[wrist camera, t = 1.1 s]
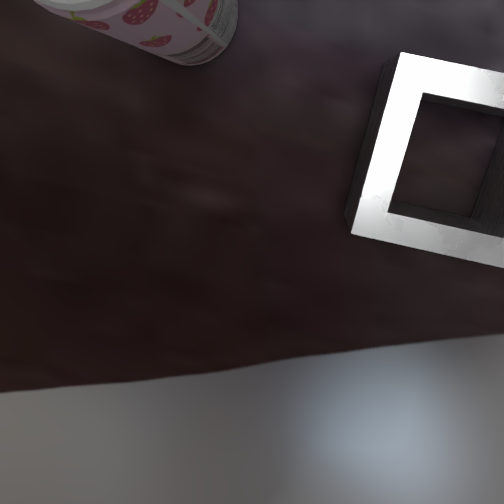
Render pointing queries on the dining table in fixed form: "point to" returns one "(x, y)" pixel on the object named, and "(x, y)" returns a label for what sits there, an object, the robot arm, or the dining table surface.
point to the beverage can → (158, 24)
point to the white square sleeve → (393, 149)
